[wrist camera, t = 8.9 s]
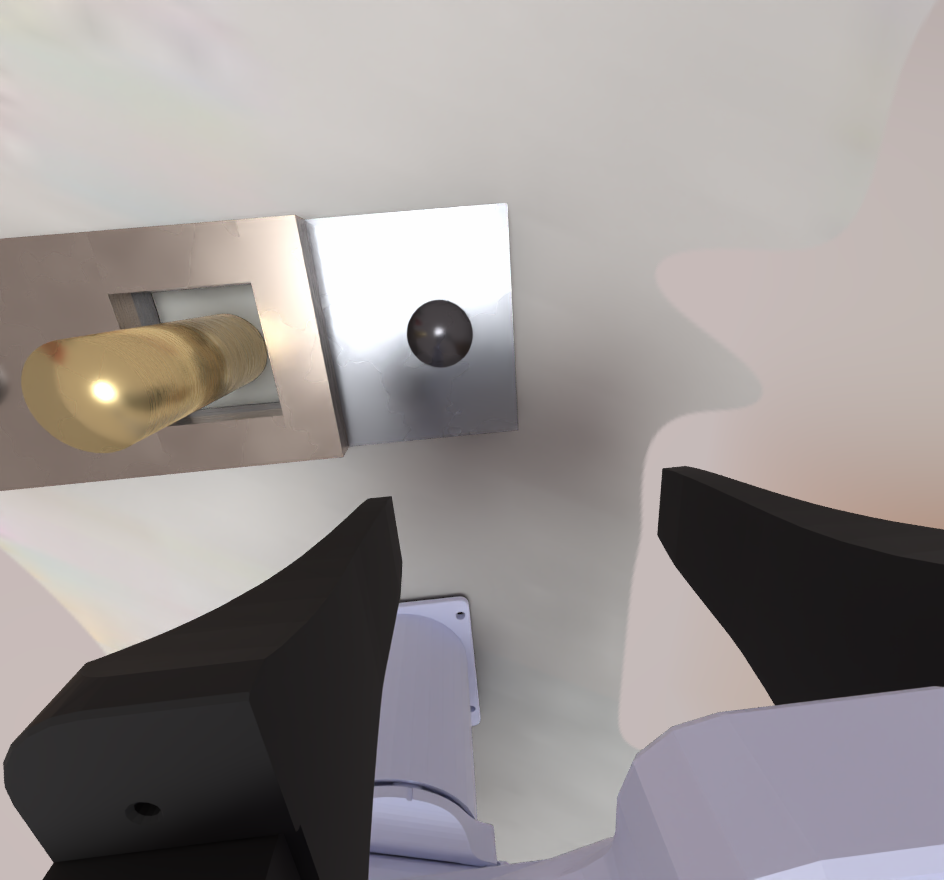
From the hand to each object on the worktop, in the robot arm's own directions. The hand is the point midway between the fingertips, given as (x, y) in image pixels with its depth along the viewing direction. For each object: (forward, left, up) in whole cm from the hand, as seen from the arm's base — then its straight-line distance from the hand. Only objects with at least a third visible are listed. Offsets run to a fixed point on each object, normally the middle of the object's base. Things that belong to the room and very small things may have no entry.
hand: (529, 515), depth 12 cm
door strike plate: (+4, +11, -9) cm, 15 cm away
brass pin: (+4, +11, -9) cm, 15 cm away
